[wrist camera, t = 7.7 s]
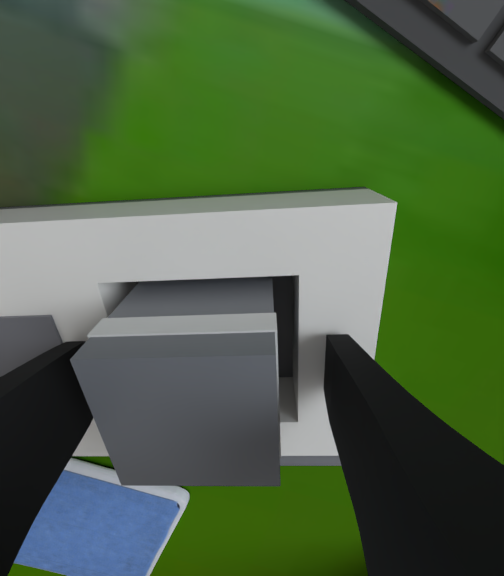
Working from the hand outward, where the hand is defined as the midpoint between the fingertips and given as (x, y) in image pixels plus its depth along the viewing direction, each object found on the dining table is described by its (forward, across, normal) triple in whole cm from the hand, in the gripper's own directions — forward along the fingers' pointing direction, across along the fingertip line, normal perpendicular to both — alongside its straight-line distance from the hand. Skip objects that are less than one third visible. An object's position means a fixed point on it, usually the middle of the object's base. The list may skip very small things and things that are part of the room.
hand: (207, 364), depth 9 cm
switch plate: (+3, +2, 0) cm, 3 cm away
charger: (+2, 0, 0) cm, 2 cm away
